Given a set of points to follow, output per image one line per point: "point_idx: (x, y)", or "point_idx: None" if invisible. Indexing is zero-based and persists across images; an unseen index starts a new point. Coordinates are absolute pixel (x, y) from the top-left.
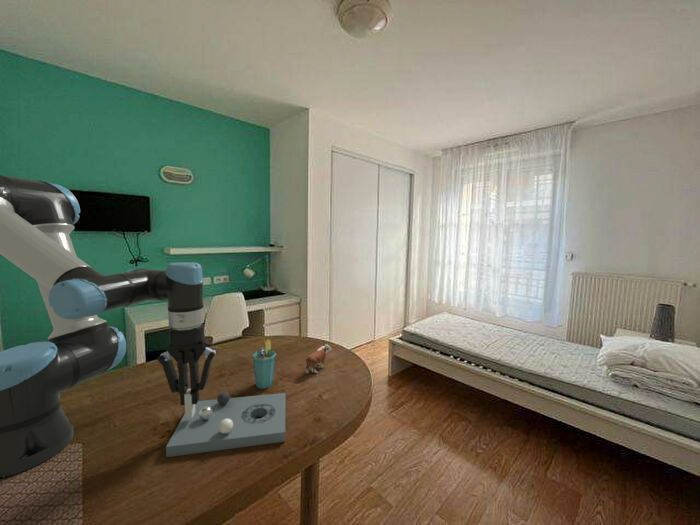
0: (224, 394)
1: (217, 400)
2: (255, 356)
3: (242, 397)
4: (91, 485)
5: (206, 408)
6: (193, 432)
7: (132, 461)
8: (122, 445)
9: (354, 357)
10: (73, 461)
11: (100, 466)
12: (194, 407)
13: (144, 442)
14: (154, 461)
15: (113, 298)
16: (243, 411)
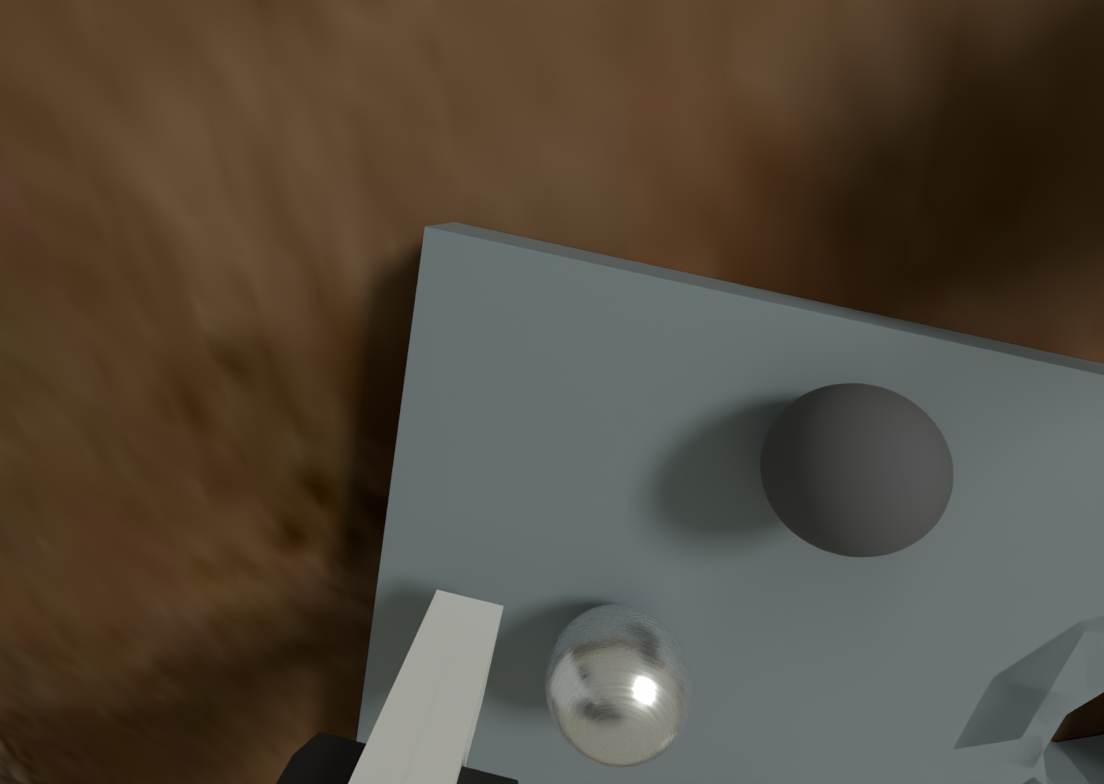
0: (894, 538)
1: (764, 489)
2: None
3: (1092, 384)
4: (55, 773)
5: (628, 759)
6: (519, 761)
7: (182, 695)
8: (36, 519)
9: None
10: None
11: (14, 660)
12: (484, 681)
13: (178, 549)
14: None
15: None
16: (1005, 666)
